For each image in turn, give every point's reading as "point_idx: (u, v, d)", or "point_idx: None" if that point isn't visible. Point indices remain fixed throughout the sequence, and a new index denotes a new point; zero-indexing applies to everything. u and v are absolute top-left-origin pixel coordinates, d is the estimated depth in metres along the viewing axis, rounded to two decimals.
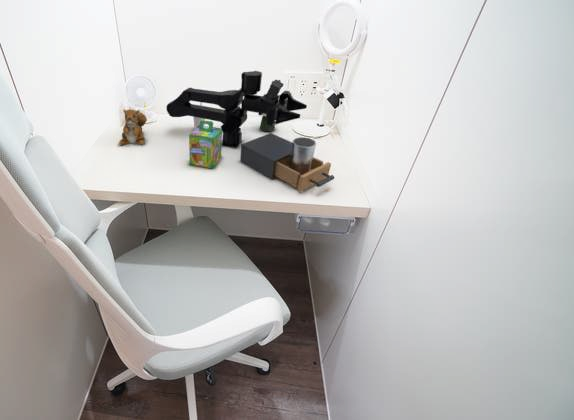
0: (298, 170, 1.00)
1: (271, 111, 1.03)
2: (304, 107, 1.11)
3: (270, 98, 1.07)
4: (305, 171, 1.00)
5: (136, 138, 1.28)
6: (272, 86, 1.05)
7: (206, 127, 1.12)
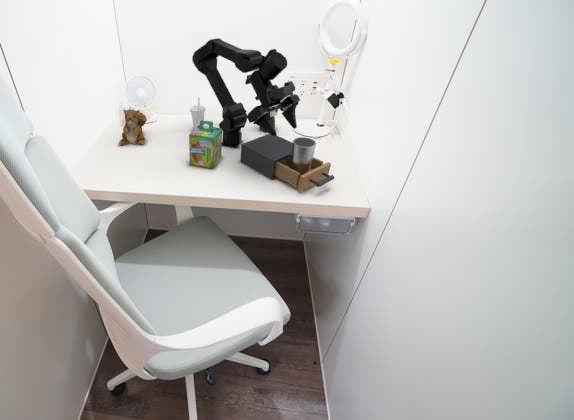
0: (298, 170, 1.00)
1: (255, 112, 0.96)
2: (293, 127, 1.04)
3: (271, 97, 0.98)
4: (305, 171, 1.00)
5: (136, 138, 1.28)
6: (279, 90, 0.95)
7: (206, 127, 1.12)
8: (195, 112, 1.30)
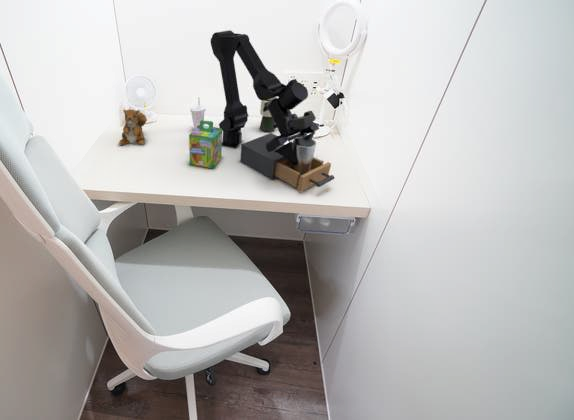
0: (298, 170, 1.00)
1: (275, 143, 0.95)
2: None
3: (290, 127, 0.96)
4: (305, 171, 1.00)
5: (136, 138, 1.28)
6: (300, 121, 0.93)
7: (206, 127, 1.12)
8: (195, 112, 1.30)
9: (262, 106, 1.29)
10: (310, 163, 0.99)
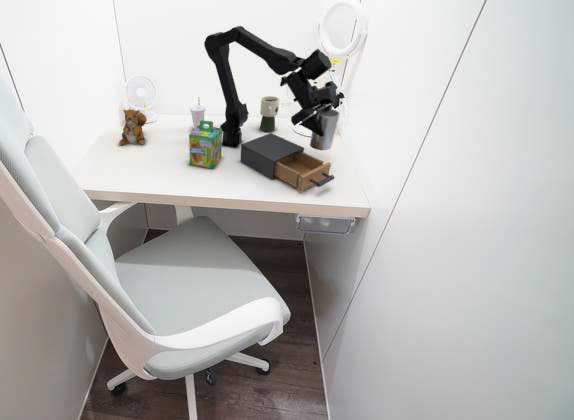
0: (323, 141, 1.01)
1: (303, 115, 0.94)
2: None
3: (314, 98, 0.96)
4: (329, 142, 1.01)
5: (136, 138, 1.28)
6: (325, 91, 0.93)
7: (206, 127, 1.12)
8: (195, 112, 1.30)
9: (262, 106, 1.29)
10: (334, 133, 1.00)
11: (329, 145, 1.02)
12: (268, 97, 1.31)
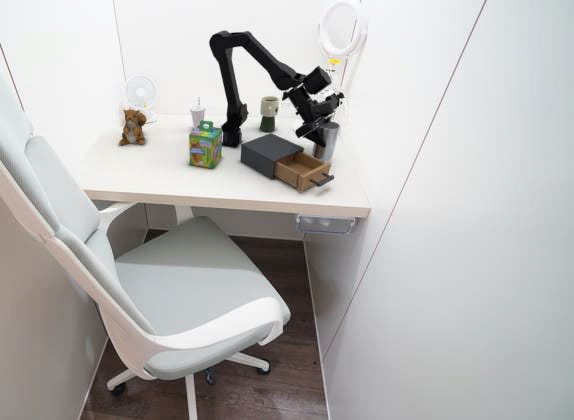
0: (325, 152, 1.06)
1: (308, 128, 0.99)
2: None
3: (316, 112, 1.02)
4: (331, 152, 1.07)
5: (136, 138, 1.28)
6: (327, 105, 0.99)
7: (206, 127, 1.12)
8: (195, 112, 1.30)
9: (262, 106, 1.29)
10: None
11: (331, 155, 1.08)
12: (268, 97, 1.31)
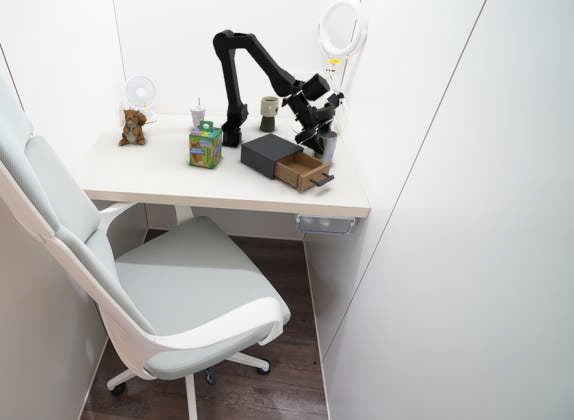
0: (324, 160, 1.08)
1: (307, 135, 1.01)
2: None
3: (315, 118, 1.03)
4: (329, 160, 1.09)
5: (136, 138, 1.28)
6: (326, 112, 1.00)
7: (206, 127, 1.12)
8: (195, 112, 1.30)
9: (262, 106, 1.29)
10: (333, 152, 1.08)
11: None
12: (268, 97, 1.31)
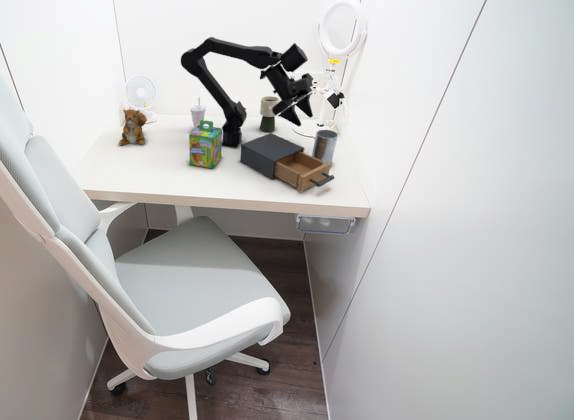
0: (324, 160, 1.08)
1: (284, 105, 1.01)
2: (309, 116, 1.11)
3: (293, 89, 1.03)
4: (329, 160, 1.09)
5: (136, 138, 1.28)
6: (303, 82, 1.00)
7: (206, 127, 1.12)
8: (195, 112, 1.30)
9: (262, 106, 1.29)
10: (333, 152, 1.08)
11: None
12: (268, 97, 1.31)
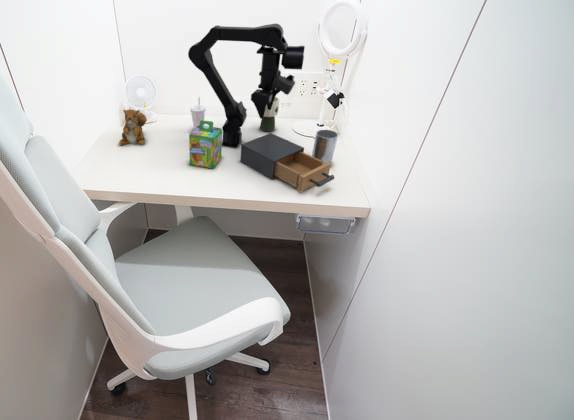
0: (324, 160, 1.08)
1: (264, 99, 1.04)
2: (268, 108, 1.19)
3: (276, 85, 1.06)
4: (329, 160, 1.09)
5: (136, 138, 1.28)
6: (288, 87, 1.05)
7: (206, 127, 1.12)
8: (195, 112, 1.30)
9: None
10: (333, 152, 1.08)
11: None
12: None
